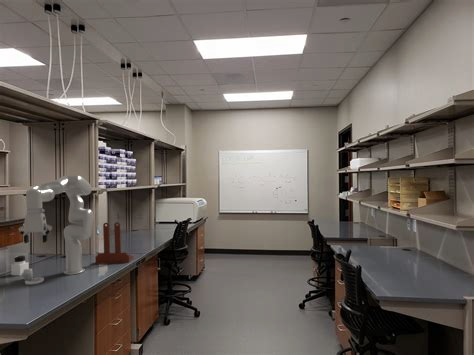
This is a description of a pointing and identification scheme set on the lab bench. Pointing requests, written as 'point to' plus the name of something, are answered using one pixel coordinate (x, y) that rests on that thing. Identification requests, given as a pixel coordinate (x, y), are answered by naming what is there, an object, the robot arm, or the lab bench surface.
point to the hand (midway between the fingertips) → (35, 242)
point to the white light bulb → (27, 274)
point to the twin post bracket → (116, 256)
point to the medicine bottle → (19, 265)
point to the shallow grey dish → (34, 281)
